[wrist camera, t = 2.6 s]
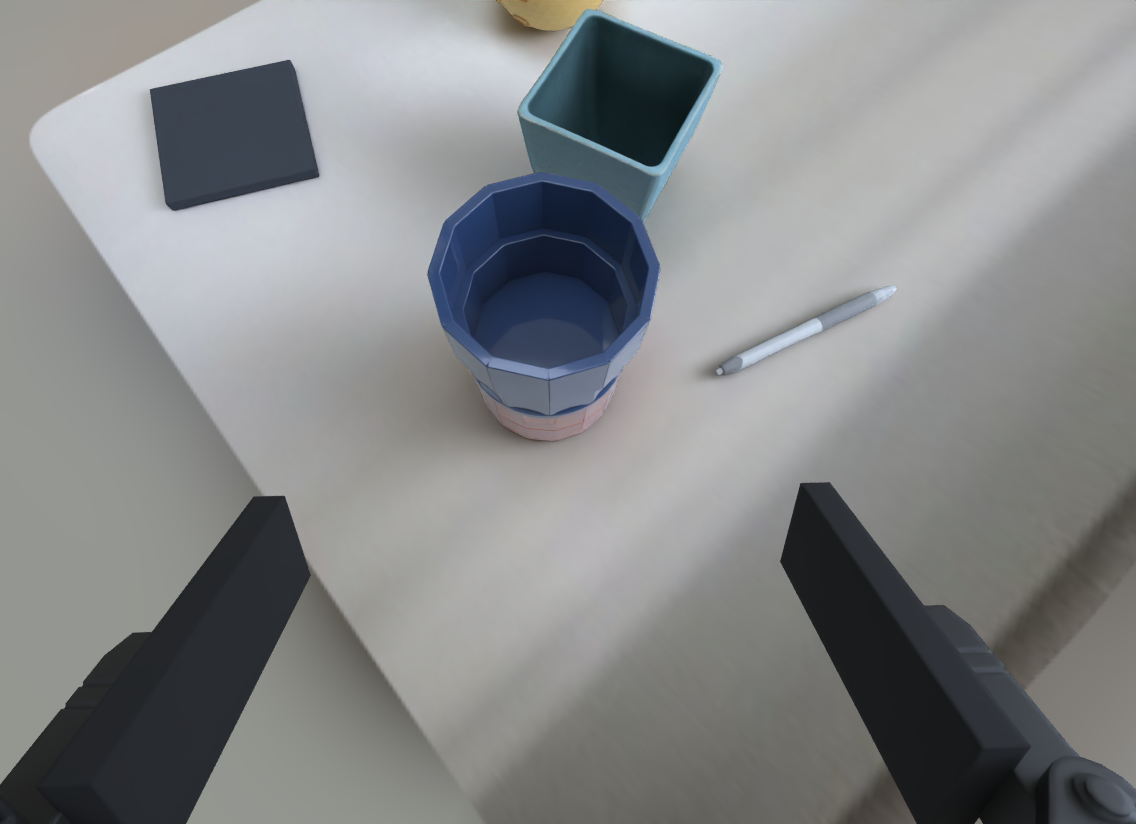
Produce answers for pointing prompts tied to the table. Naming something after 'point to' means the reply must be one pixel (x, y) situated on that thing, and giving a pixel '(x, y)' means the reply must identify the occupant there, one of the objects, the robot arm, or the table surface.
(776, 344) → the pen
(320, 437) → the table surface
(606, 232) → the top bowl
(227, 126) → the mat
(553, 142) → the flower pot
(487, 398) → the bottom bowl
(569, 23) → the stress ball
